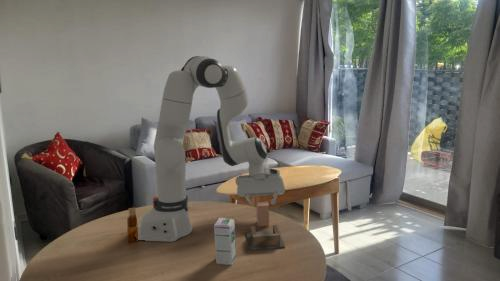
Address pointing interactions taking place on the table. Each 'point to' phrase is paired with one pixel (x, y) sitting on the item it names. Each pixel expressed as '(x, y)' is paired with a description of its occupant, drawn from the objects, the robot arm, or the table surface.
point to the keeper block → (263, 213)
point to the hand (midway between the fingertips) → (262, 204)
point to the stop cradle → (264, 239)
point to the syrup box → (225, 241)
